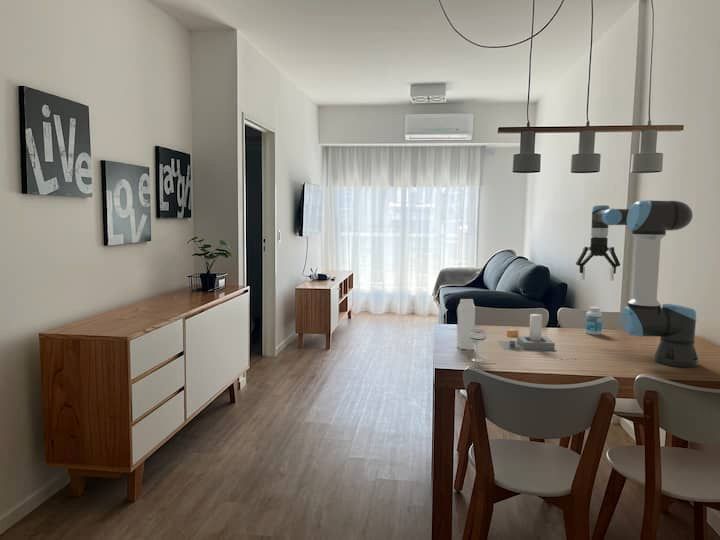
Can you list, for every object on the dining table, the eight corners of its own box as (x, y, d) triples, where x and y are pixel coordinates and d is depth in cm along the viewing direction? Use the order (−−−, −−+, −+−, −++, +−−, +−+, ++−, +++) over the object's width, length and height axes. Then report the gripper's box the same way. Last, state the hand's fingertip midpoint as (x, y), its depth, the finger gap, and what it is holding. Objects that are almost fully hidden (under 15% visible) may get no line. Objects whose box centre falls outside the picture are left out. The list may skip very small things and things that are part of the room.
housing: (556, 353, 221) (556, 344, 221) (504, 351, 223) (504, 342, 223) (545, 344, 237) (546, 335, 237) (497, 343, 239) (497, 334, 239)
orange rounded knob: (519, 338, 228) (519, 331, 227) (508, 337, 228) (508, 331, 228) (516, 335, 232) (516, 329, 232) (505, 335, 233) (506, 328, 232)
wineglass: (482, 357, 213) (483, 329, 212) (487, 362, 206) (488, 332, 205) (466, 357, 212) (467, 329, 211) (470, 362, 206) (471, 332, 205)
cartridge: (542, 347, 227) (543, 316, 226) (530, 347, 228) (531, 315, 226) (539, 344, 232) (540, 314, 231) (527, 344, 232) (529, 313, 231)
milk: (456, 346, 232) (457, 298, 230) (470, 346, 232) (471, 297, 231) (460, 349, 226) (461, 300, 224) (474, 349, 226) (475, 299, 224)
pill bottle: (581, 332, 264) (583, 306, 262) (592, 331, 267) (593, 305, 266) (594, 335, 257) (595, 308, 256) (604, 334, 260) (606, 308, 259)
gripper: (622, 237, 256) (620, 279, 257) (570, 236, 258) (568, 278, 260) (629, 237, 248) (626, 281, 250) (575, 236, 251) (573, 280, 253)
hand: (597, 280), depth 255 cm, fingers open, 13 cm apart
